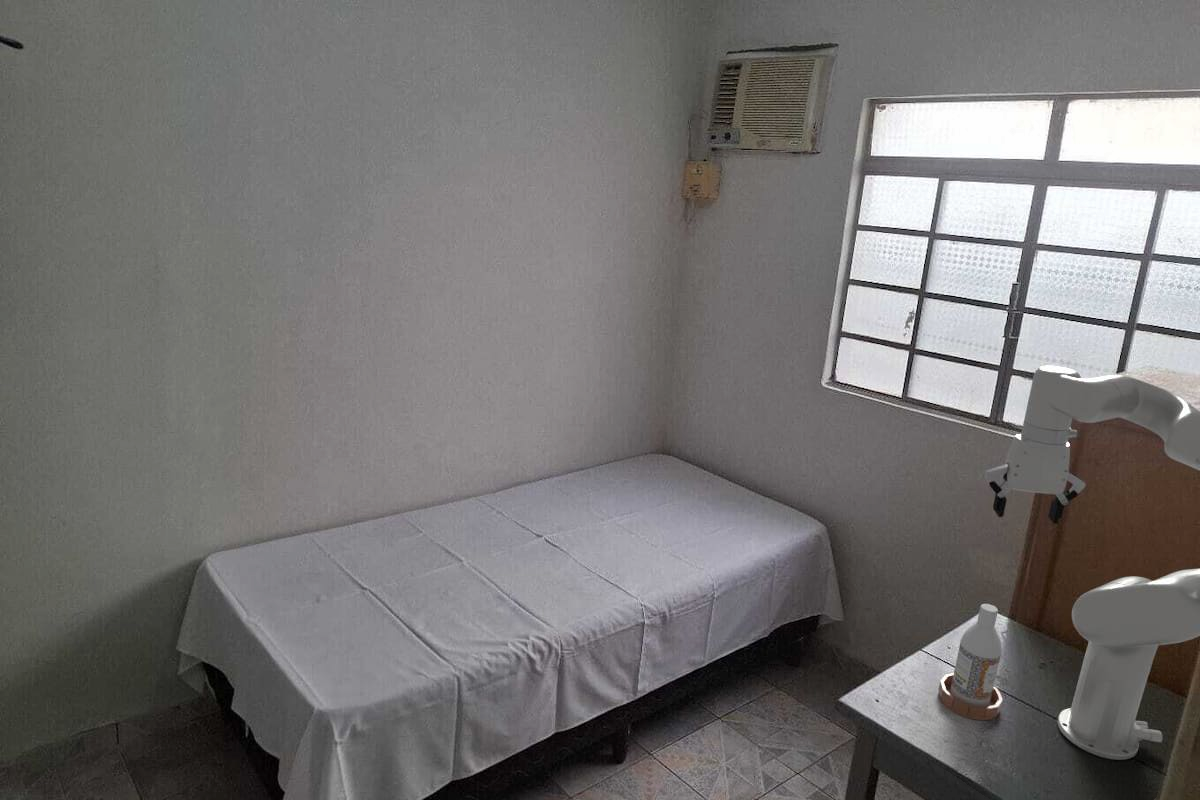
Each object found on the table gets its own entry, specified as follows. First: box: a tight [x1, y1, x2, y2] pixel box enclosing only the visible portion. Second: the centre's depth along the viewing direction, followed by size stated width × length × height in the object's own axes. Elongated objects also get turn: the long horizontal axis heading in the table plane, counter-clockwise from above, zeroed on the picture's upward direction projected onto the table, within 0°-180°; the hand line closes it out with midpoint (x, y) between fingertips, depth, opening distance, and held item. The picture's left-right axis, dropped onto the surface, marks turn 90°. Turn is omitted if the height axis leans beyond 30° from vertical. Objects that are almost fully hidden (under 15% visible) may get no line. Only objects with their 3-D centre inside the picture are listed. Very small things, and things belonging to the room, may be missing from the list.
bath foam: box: [950, 603, 1002, 707], centre depth 149 cm, size 7×7×20 cm
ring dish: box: [938, 672, 1004, 722], centre depth 152 cm, size 11×11×3 cm
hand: (1025, 517), depth 152 cm, fingers open, 9 cm apart
